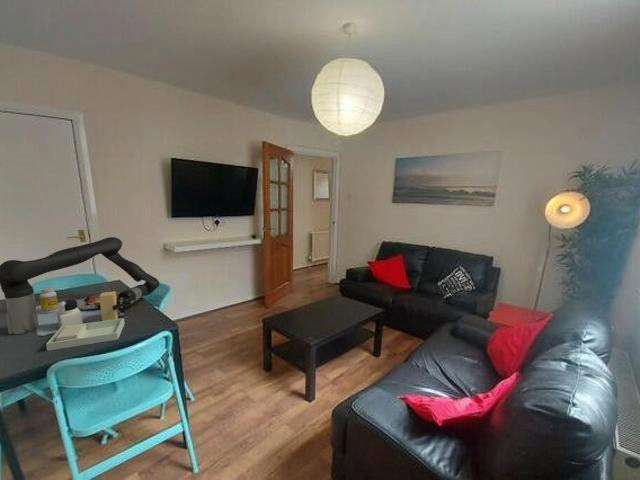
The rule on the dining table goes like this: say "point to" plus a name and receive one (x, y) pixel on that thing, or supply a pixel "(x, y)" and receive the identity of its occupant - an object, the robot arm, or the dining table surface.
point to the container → (69, 313)
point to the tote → (90, 334)
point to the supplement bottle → (48, 300)
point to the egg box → (72, 332)
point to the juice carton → (108, 306)
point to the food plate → (91, 301)
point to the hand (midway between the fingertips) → (105, 307)
